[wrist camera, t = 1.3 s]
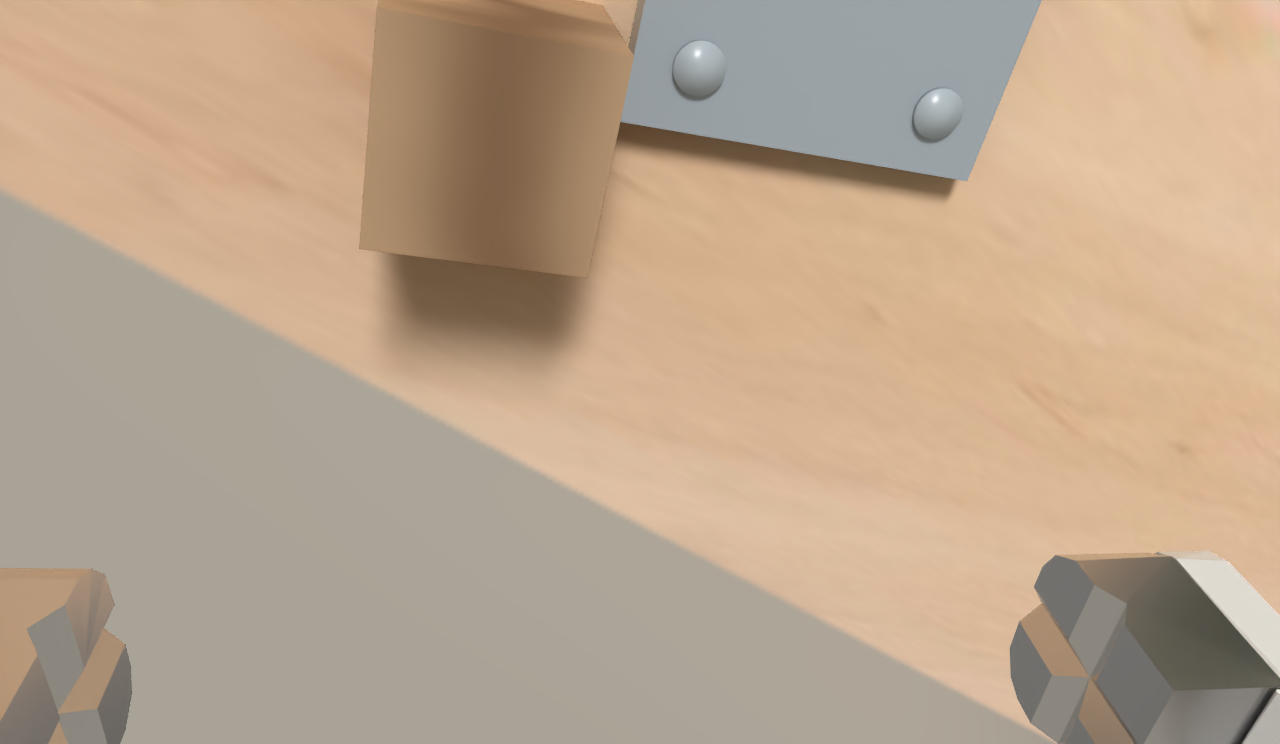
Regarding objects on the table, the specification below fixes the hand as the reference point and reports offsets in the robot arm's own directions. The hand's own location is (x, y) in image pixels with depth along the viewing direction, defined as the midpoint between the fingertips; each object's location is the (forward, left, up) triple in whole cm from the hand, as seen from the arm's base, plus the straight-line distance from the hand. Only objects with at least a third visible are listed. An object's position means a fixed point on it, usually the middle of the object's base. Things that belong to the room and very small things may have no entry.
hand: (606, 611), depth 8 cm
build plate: (+10, +4, -23) cm, 25 cm away
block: (0, -2, -23) cm, 23 cm away
